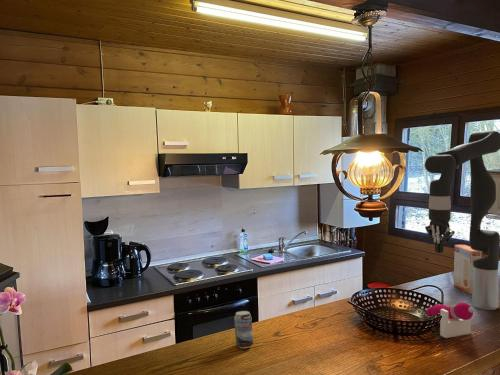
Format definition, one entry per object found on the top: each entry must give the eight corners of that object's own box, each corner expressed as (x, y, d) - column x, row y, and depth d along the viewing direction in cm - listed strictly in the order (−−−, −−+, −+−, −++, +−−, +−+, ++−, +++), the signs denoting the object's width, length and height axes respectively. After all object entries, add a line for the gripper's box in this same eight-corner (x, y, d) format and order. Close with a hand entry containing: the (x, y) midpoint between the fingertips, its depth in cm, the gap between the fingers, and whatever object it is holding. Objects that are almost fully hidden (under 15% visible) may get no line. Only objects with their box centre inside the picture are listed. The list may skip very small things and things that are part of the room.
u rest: (465, 330, 142) (465, 305, 141) (470, 333, 139) (471, 307, 139) (440, 335, 139) (440, 309, 138) (445, 338, 136) (445, 311, 136)
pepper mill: (422, 317, 148) (461, 312, 130) (428, 301, 151) (467, 294, 134) (437, 328, 148) (478, 325, 130) (443, 312, 151) (484, 307, 134)
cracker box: (481, 294, 178) (482, 250, 176) (468, 294, 178) (469, 251, 176) (465, 284, 192) (466, 244, 190) (453, 285, 192) (454, 244, 190)
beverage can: (240, 352, 129) (239, 318, 128) (231, 343, 135) (230, 311, 135) (256, 348, 132) (256, 314, 131) (247, 339, 138) (246, 307, 137)
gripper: (461, 209, 138) (460, 255, 140) (434, 205, 151) (434, 247, 152) (444, 210, 136) (444, 257, 138) (419, 206, 149) (418, 249, 150)
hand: (439, 252), depth 145 cm, fingers closed
